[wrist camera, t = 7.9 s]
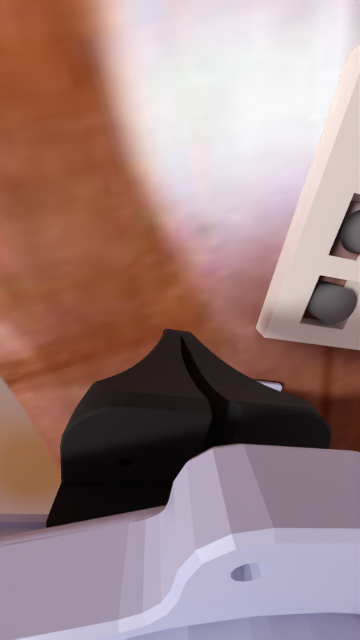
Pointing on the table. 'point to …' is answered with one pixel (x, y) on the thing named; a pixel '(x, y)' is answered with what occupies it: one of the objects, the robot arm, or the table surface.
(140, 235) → the table surface
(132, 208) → the table surface
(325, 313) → the button inner
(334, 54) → the table surface
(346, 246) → the button middle
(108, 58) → the table surface
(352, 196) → the button board
